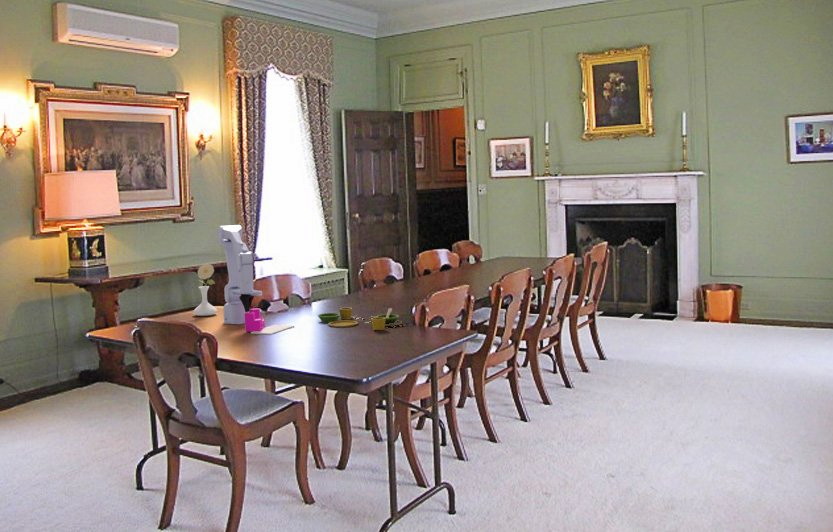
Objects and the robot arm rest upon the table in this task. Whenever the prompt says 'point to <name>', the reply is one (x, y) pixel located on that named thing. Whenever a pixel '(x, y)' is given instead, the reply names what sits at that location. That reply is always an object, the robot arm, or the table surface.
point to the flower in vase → (205, 292)
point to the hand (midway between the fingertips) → (247, 311)
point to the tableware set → (346, 313)
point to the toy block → (253, 321)
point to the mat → (272, 329)
